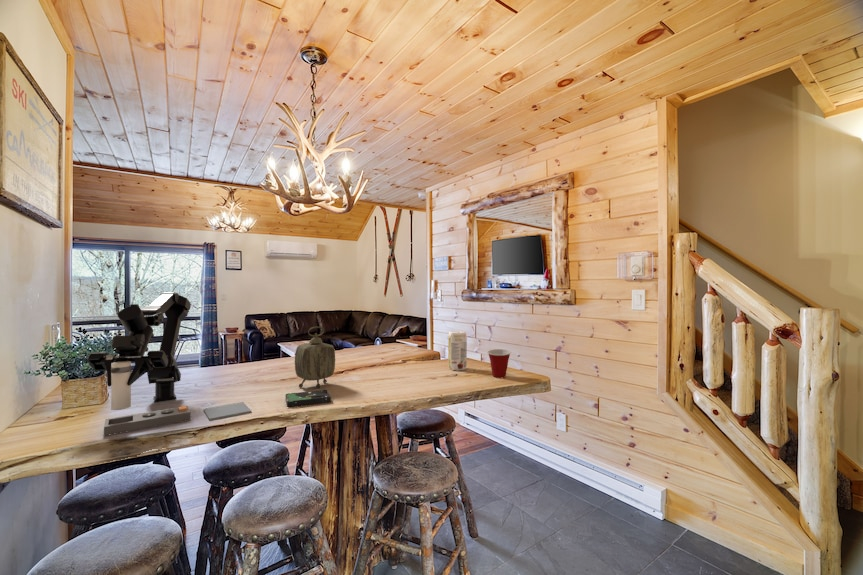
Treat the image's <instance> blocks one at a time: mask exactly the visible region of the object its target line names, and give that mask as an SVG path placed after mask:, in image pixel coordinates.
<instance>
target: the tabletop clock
mask: <svg viewBox="0 0 863 575" xmlns="http://www.w3.org/2000/svg"><path fill="white" fill-rule="evenodd" d="M314 329H320V330H321V331H322V333H320V334H318V333H317V332H315V333H314V334H311V333H310V331H311V330H314ZM324 333H325V331H324V328H323V327H322V326H318V325H317V326H312V327H310V328H309V329H308V331H307V335H308V336H310V337H311V339H310V340H309V342H307V343H302V344H299V345H298V346H297V347H296V349H295V353H294V371H295V374H296V377H298V378H301V379H303V380H302V382H301V383H299V384H298V388H302V387H303V385H304V383H305V382H306V381H316V388H321V384H320V380H322V383H324V384H325V383H327V381H328V380H327V378H329V377H331V376H333V375H334V373H335V369H336V368H335V367H336V352H335V347H334V345H333V344H331V343H330V344H329V343H324V342H323V340H322V338H321V337H320V336H322V335H323V334H324Z"/></svg>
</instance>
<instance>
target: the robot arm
mask: <svg viewBox="0 0 863 575" xmlns="http://www.w3.org/2000/svg"><path fill="white" fill-rule="evenodd" d="M191 306H192V305H191V302H190V300H189V299H188V298H187V297H185V296H183V295H180V294H179V293H178V292H175V291H163V292H160V295H159V296H158V297H157V298H156V299H155V300H154V301H153V302H151V304H149V305H146V306H141V307H140V305H139V304H138V303H135V304H133V303H131V304H130V305H129V306H127V307H124V308H123V309H121V310H120V311H118V313H117V318H118V319H119V321H120V323H121V324H122V327H123V328H124V329H125V331H127V332H129V334H128V335H114V336H113V339H112V343H111V349H112V348H114V349H115V354H116V355H113V354H111V355H110V354H109V353H108V352H105V351H104V352H92V353H90V354H88V356H87V358H86V362H87V363H88V364H89V366H90V367H91V368H92V369H93V371H96V372H100V371H101V372H102V371H106V383H107V384H106V385H107V387H108V388H109V387H110V388H111V363H114V362H121V361H131V365H132V364H134V366H133V369H132V370H131V375H130V377H129V380H128V383H127V384H128V386H130V385H131V386H132V385H133V384H134V383H135V382H136V381H137V380H139V378H141V377H142V376H143V375H145V374H146V373H147V374H146V375H147V380H148V384H149V385H150V384H155V385H154V389H155V390H154V392H155V395H154V396H153V402H155V403H156V402H162V401H167V400H168V401H169V400H175V399H177V395H176V393H175V383H177V382H181V377H182V373H181V371H180V369H179V367H178V361H177V360H176V358H175V352H176V348H177V342H178V339H179V332H180V330H181V329H180V328H181V324H182V322H183V320H185V319H186V318H187V317H188V314H189V311H190V310H191ZM164 315H165V316H164ZM165 317H166V320H165V325H164V330H163V334H162V339H161V343H160V347H159V350H149V347H148V346H149V343H150V341H151V339H153V338H155V334H154V329H153V327H159V326H160V325H161V324H162V323H163V320H164V319H165ZM146 352H147V355H145V353H146ZM117 355H118V356H117Z"/></svg>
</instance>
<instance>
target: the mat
mask: <svg viewBox="0 0 863 575" xmlns="http://www.w3.org/2000/svg"><path fill="white" fill-rule="evenodd" d="M203 412H204V414H205V416H206V417H207V419H208V421H214V420H219V419H226V418H231V417H235V416H241V415H246V414H251V413H253V412H252V409H251V408H250V407H249V406H248V405H247V404H245V402H244V401H241V402H240V401H239V402H235V403H228V404H223V405H217V406H216V405H215V406H211V407H207V408H203Z"/></svg>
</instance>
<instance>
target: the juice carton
mask: <svg viewBox="0 0 863 575" xmlns="http://www.w3.org/2000/svg"><path fill="white" fill-rule="evenodd" d="M447 337H448V338H447V348H448V349H447V365H448V368H449V369H450V370H451V369H452V370H451V371H453V370H456V371H466V369H467V356H468V355H467V354H468V353H467V352H468V351H467V346H468V345H467V344H468V342H467V341H468V340H467V339H468V337H467V333H466V332H465V331H463V330H460V331H448V336H447Z"/></svg>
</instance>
